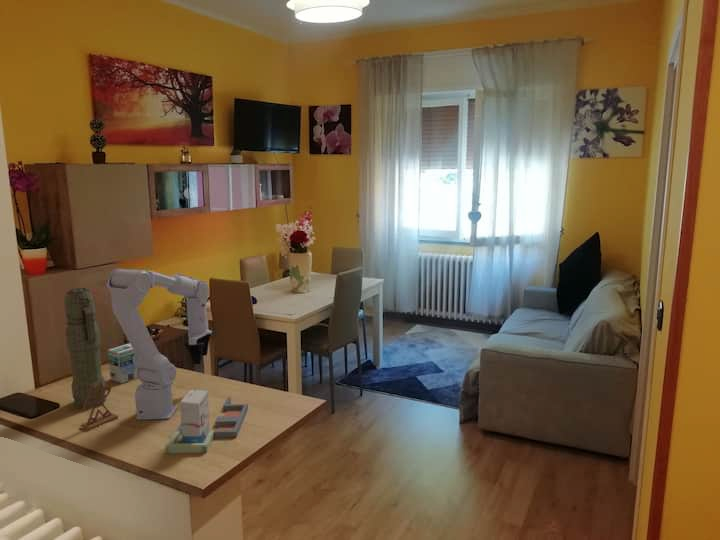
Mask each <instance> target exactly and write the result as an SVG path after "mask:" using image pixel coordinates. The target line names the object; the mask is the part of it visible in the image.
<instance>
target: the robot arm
mask: <svg viewBox="0 0 720 540" xmlns="http://www.w3.org/2000/svg"><path fill="white" fill-rule="evenodd" d="M208 285H209V284H208V283H206V281H205V280H199V279H195V277H193V276H189V277H187V276H185V274H184V273H180V272H177V273H176V274H175V273H174V274H172V275H170V276H168V275H165V274H162V273H159V272H156V271H153V270H144V269H143V270H141V269H131V268H130V269H129V268H128V269H125V268H120V267H118V268H115V269H113V270H112V271H111V272H110V274H109V276H108V279H107V282H106V287H107V289H108V291H109V293H110V298H111V309H112V313H113V314H114V316H115V317H116V320H117V322H118V323H119V325H120V327H121V329H122V331H123V333H124V335H125V337H126V338H127V341H128V342H129V343H130V344H131V346H132V348H133V350H134V352H135V354H136V356H137V358H138V360H137V361H136V363H135V367H136V370H137V377H138V378H137V379H138V380H139V381H140V382H141V384H138V386H137V387H136V389H135V394H134V395H135V396H134V398H135V411H136V417H135V419H136V420H138V421H139V420H140V421H141V420H168V419H171V418H172V416H173V415H174V413H175V412H176V410H177V409H178V407H179V406H178V405H174V404H173V403H174V402H173V393H172V392H173V391H172V384H174V381H175V379H176V376H177V368H176V366H175V365H174V364H172V363H171V362H170V360H169V359H168V357H167V356H165V355H163V354H161V352H159V349H158V348H157V345H156V344H155V342H154V340H153V338H152V335H150V332H149V329H148V328H147V326H146V323H145V321H144V320H143V318H142V316H141V314H140V312H139V310H138V307H139V306H141V304H142V302H143V301H144V299H145V297H146V296H147V294H148V293H149V291H150V290H151V288H154V286H156V287H161V288H166V290H167V291H168V292H169V293H170V294H173V295H177V296H182V297H183V298H185V300H186V314H187V325H188V327H187V328H188V333H187V335H188V341H186V342H185V343H184V347H185V348H186V349H187V351H188V354H189V355H190V358H191V362H192V364H193V365H201V364H202V356H207V355H208V351H209V343H210V340H211V337H212V334H213V331H212V329H210V330H209V329H208V327H209V326H208V314H207V313H208V311H207V303H208V296H209V294H210V287H209V286H208Z"/></svg>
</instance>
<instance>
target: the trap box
mask: <svg viewBox="0 0 720 540" xmlns="http://www.w3.org/2000/svg"><path fill="white" fill-rule="evenodd" d="M222 409H223V411H225V413H224V415H223V416H217V417H216V418H215V421H214V426H215V428H217V429H216V430H213V429H210V431H209V433H208V434H207V436H206V437H205V439H204V441H203V443H184V444H182V443H177V442H178V441H179V440H180V438H181V437H182V427H181V424H180V425H179V426H178V427H177V429H176V431H175V432H174V434H173V436H172V437H171V438H170V440H169V441H168V443H166V444H165V454H190V453H191V454H193V453H195V454H196V453H197V454H200V453H201V454H202V453H207V452H208V450H209V448H210V446H211V443H213V440H214V438H215V439H216V438H237V437H238V436H239V435H238V434H239V432H240V430H241V427H242V425H243V423H244V420H245V417H246V415H247V413H248V410H249V404H248V403H232V397H231V396H227V397H226V400H225V401H224V403H223V407H222Z"/></svg>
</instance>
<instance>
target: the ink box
mask: <svg viewBox="0 0 720 540" xmlns="http://www.w3.org/2000/svg"><path fill="white" fill-rule="evenodd" d="M209 402H210V401H209V391H208V390H198V389H197V390H196V389H191V390H189V392H187V394H186V395H185V396H184V397H183V398H182V399H181V401H180V403H179V407H180V421H181V422H180V425H181V427H182V435H181V444H184V443H204V442H205V440H206V438H207V436H208V434H209V432H210V431H211V428H210V408H209V406H210V405H209Z"/></svg>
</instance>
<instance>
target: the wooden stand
mask: <svg viewBox="0 0 720 540" xmlns="http://www.w3.org/2000/svg"><path fill="white" fill-rule="evenodd" d="M96 383H99V384H100V386H97V387H93V385H95V384H96ZM92 387H93V388H92ZM100 387H101V389H99V388H100ZM96 388H98V391H96V392H94V391H91V390H96ZM111 389H112V386H111V385H110V384H105V386H104V387H103V385H102V384H101V383H100V382H94V383H93V384H92V385H91V386H90V389H89V391H90V393H91V394H92V396H89V397H88V398H87V399H86V400H85V402H84V404H83V408H82V409H83V410H85V411H90V410H91V412H90V414H89V416H88V418H87V421H86V422H84V423H81V424H80V428H81V427H83V428H85V429H87V430H90V431H92V430H91V429H93V430H95V429H97V428H100V427H101V426H100V425H102V426H104V425H106V424H105V423H107V424H109V423H112V422H113V421H115V420H118V418H119V417H118V414H114V412H113V413H112V412H110V410H109V409H108V408H107V407H106V406H105V402H104V401H103V399H104V398H106V399H107V397H108V396H109V394H110V393H111ZM102 390H103V391H102ZM105 391H107V392H105ZM92 392H93V393H96V394H93V393H92ZM104 392H105V396H104V397H102V398H101V402H102V404H99V402H98V400H99V398H98V397H101V395H100V394H102V393H104ZM97 393H98V395H97ZM91 397H94V398H95V399H96V400H97V403H96V404H97V406H95V407H94V402H93V401H92V402H90V403H89V404H86V402H87V401H88V400H89V399H90V398H91ZM91 404H92V407H91ZM87 406H88V407H89V408H85V407H87ZM100 407H103V408H104V409H105V412H104V413H102V411H101V410H100V409H98V408H100ZM91 408H92V409H91ZM95 409H97V411H96V413H95V416H94V417H93V415H94V412H95ZM99 414H100V416H99ZM108 422H109V423H108ZM103 424H104V425H103ZM99 426H100V427H99ZM96 427H97V428H96ZM94 428H95V429H94ZM85 429H84V430H85ZM87 430H86V431H87Z"/></svg>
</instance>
